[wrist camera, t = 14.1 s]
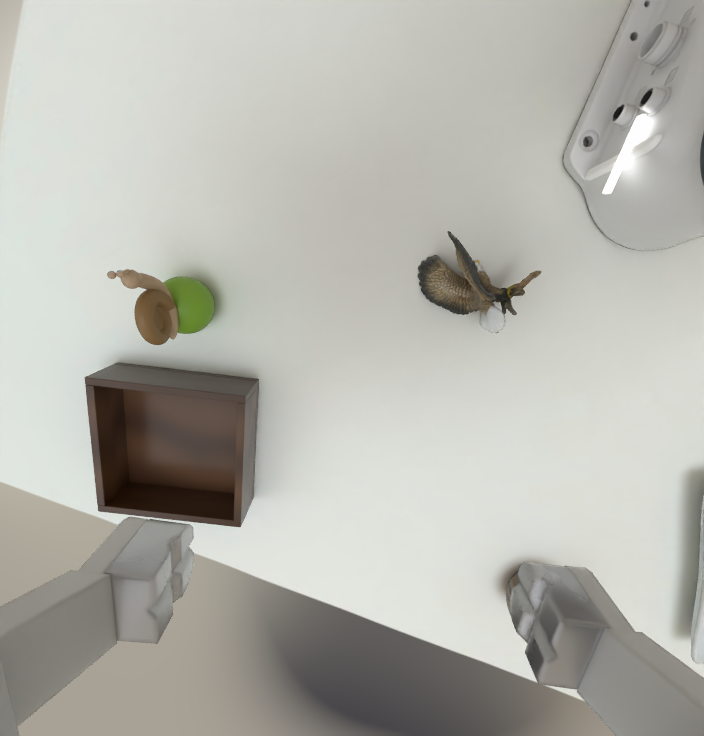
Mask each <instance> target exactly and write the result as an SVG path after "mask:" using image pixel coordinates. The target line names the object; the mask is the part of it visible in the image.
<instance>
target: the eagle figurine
mask: <svg viewBox="0 0 704 736" xmlns="http://www.w3.org/2000/svg"><path fill="white" fill-rule="evenodd" d="M448 235H449V237H450V238H451V240H452V241H453V243H454V245H455V247H456V255H457V262H458V266H459V267H460V269H461V271H462V273H463V275H464V277H465V278H466V279H465V278H462V277H460V276H459V275H457V274H456V273H454V272H453V271H451V270H450V269H449V268H448V267H447V266H446V264H445V263H444V262H443V261H442V260H441V259H440V258H439V257H438V256H437V255H434V256H433V257H428V258H427V261H422V262H421V266H419V267H418V270H419V272H420V273H419V274H418V278H419V279H420V280H421V282H420V283H419V285H420V286H421V287H422V288H421V291H422V292H423V294H424V295H425V296H426V298H427V299H429V300H430V302H433V303H435V304H437V305H438V306H442V307H443V308H445V309H447V310H450V312H453V313H456V314H462V315H465V314H468V313H469V312H470V313H471V312H473V311H477V310H478V309H479V310H480V325H481V326H482V327H483V328H484V329H486V330H488V331H490V332H492V333H498V332H499V331H501V330H502V329H503V327H504V324H505V315H504V314H505V313H506V309H508V310H509V311H510V312H511V313H512V314H513V315H516V314H517V313H516V312H515V310H514V309H513V308H512V305H511V300H510V299H511V298H512V297H513V296H521V295H524V294H525V291H524V290H523V288H524V287H525V286H526V285H527V284H528V283H529V282H530V281H531V280H532V279H534V278H536V277H537V276H538V275H539V274H540V273H541V271H535V272H532V273H530V274H529V276H527V277H526V278H525V279H523V280H522V281H521V282H520V283H518V284H514V285H513V286H511V287H509V288H508V289H507V288H502V289H498V288H496V287H494V286H493V285H492V284H491V283H490V279H489V277H488V275H487V274H486V273H485V272H484V270H483V268H482V266H481V265H480V264H479V261H478V260H477V261H475V262H474V261H472V259H471V257H470V256H469V254H468V253H467V251H466V250H465V248H464V247H463V245H462V244H461V243H460V242H459V240H458V239H457V238H455V237H454V236H453V235H452V234H451V232H449V231H448ZM494 301H496V302H501V306H502V311H501V310H500V309H498V308H497V307H495V305H494V304H493V302H494Z"/></svg>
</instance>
